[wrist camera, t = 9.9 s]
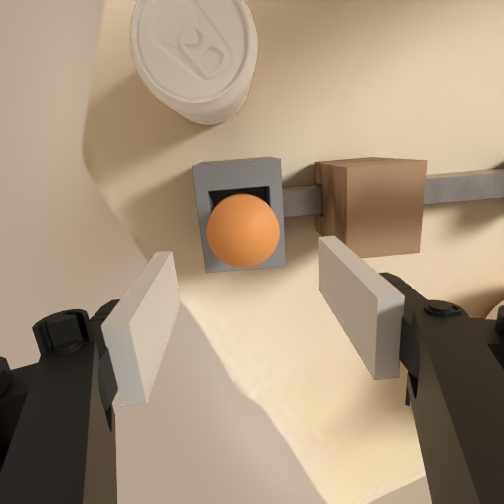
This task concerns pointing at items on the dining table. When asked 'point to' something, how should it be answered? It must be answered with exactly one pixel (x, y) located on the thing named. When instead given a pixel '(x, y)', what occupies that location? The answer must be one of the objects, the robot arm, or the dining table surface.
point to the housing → (239, 181)
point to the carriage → (373, 204)
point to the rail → (436, 191)
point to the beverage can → (195, 55)
